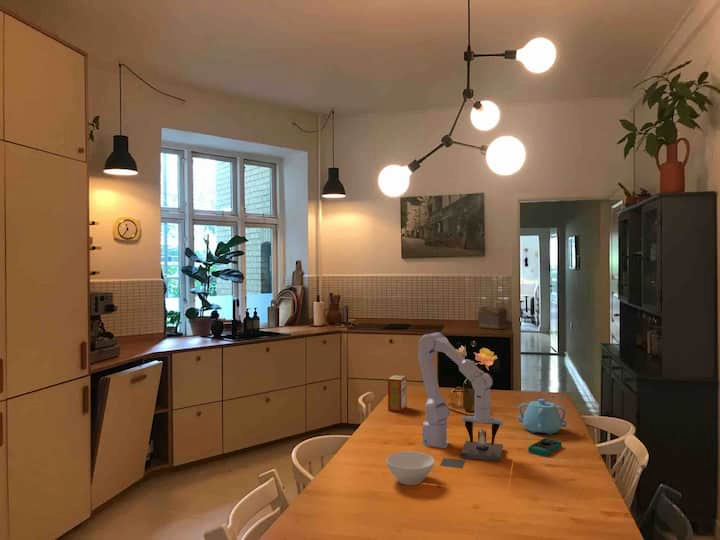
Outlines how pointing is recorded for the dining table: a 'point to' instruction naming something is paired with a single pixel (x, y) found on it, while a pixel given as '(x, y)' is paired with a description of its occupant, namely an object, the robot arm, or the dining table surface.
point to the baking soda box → (396, 393)
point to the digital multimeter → (545, 447)
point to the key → (481, 440)
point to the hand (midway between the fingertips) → (482, 442)
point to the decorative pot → (542, 417)
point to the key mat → (452, 463)
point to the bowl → (410, 466)
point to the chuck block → (482, 452)
